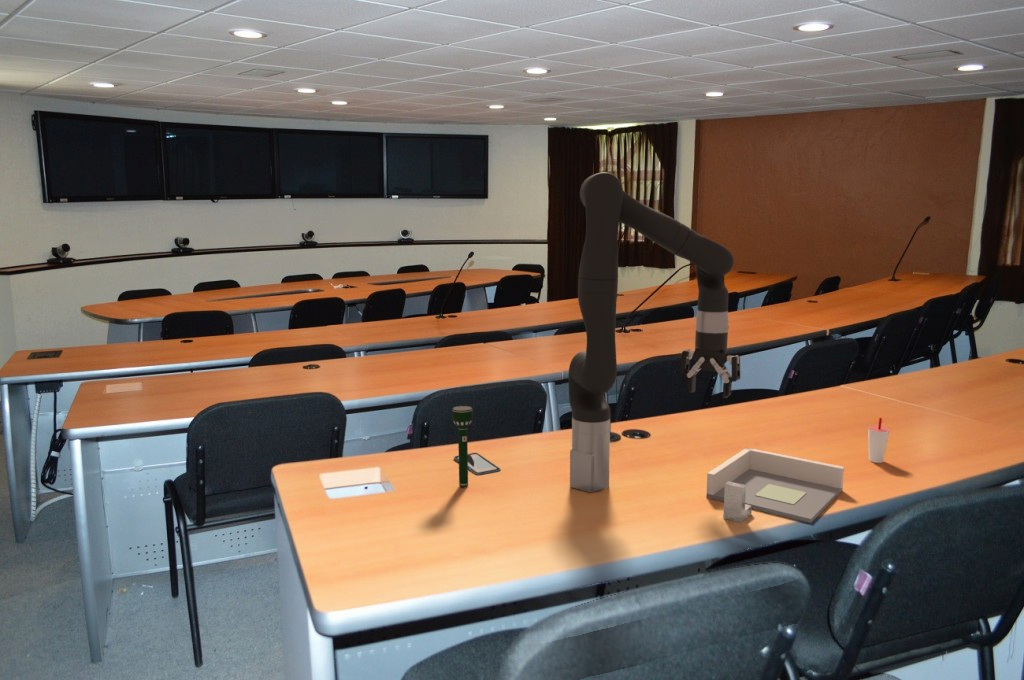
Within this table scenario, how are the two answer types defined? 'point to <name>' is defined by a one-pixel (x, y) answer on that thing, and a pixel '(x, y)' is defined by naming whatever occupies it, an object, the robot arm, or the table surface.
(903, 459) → the table surface
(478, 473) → the smartphone
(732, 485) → the bracket
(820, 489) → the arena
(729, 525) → the table surface
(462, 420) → the flashlight
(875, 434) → the cup
